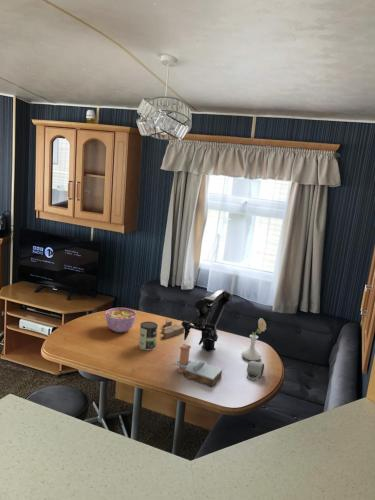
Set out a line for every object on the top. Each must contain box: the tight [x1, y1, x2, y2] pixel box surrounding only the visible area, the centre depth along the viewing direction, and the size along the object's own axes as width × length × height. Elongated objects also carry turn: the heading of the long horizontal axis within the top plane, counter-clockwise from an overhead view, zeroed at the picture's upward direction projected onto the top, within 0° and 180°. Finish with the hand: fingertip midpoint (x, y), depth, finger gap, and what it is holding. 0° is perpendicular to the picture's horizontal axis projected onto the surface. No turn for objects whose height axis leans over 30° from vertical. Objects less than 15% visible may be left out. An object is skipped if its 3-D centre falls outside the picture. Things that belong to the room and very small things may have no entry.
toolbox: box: [183, 370, 223, 388], centre depth 210 cm, size 16×12×4 cm
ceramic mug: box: [246, 360, 265, 381], centre depth 215 cm, size 11×8×8 cm
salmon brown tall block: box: [178, 343, 191, 373], centre depth 214 cm, size 4×4×14 cm
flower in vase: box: [241, 317, 267, 361], centre depth 235 cm, size 13×11×25 cm
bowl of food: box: [104, 307, 137, 333], centre depth 257 cm, size 20×20×12 cm
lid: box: [173, 358, 223, 380], centre depth 211 cm, size 24×12×2 cm, turn 62°
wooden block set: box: [161, 318, 185, 340], centre depth 263 cm, size 17×6×18 cm
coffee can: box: [138, 321, 158, 351], centre depth 237 cm, size 10×10×14 cm
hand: (191, 342), depth 220 cm, fingers open, 9 cm apart
